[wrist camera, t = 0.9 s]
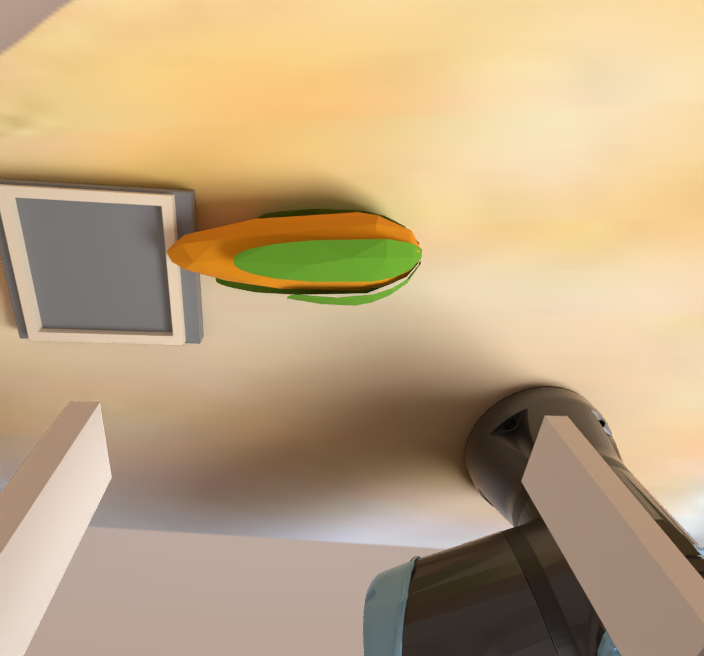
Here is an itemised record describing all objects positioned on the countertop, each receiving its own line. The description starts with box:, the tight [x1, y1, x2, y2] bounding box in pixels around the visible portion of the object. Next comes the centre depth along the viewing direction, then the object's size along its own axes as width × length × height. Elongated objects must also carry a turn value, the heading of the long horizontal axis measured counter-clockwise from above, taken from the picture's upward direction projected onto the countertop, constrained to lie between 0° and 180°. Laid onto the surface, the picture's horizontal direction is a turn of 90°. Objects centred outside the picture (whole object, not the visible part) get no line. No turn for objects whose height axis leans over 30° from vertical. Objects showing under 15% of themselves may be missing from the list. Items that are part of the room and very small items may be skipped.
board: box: [0, 178, 203, 345], centre depth 38 cm, size 13×15×2 cm
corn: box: [167, 209, 422, 305], centre depth 37 cm, size 7×8×20 cm
